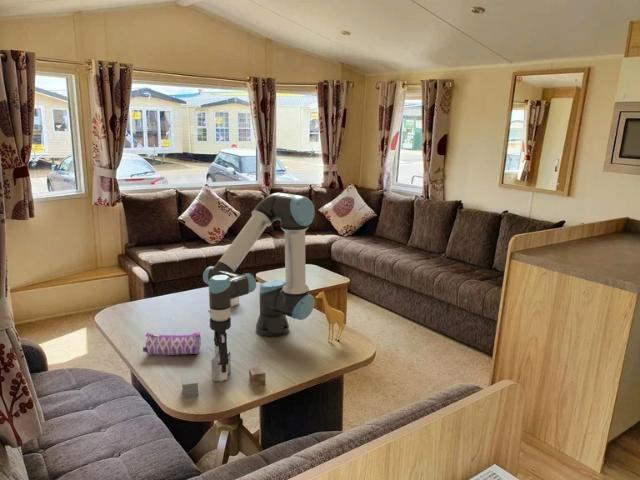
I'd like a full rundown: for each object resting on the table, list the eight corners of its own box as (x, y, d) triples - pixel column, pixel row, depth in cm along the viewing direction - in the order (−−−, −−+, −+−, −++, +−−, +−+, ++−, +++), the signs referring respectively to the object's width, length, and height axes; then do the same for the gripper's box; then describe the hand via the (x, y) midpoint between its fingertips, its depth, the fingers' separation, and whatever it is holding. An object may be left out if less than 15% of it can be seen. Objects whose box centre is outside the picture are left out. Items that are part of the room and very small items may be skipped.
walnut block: (262, 378, 179) (262, 366, 177) (265, 385, 174) (265, 372, 173) (249, 380, 177) (249, 368, 176) (251, 387, 172) (251, 374, 171)
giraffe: (317, 349, 202) (318, 294, 196) (311, 345, 206) (312, 290, 199) (347, 340, 211) (349, 287, 205) (341, 336, 215) (343, 284, 209)
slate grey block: (196, 388, 171) (196, 375, 170) (198, 395, 166) (197, 382, 165) (182, 390, 169) (182, 377, 168) (183, 397, 165) (182, 384, 163)
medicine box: (222, 382, 175) (222, 361, 173) (211, 380, 176) (210, 359, 173) (231, 371, 182) (230, 351, 180) (220, 370, 183) (219, 349, 181)
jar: (239, 306, 245) (239, 284, 242) (223, 307, 243) (223, 285, 240) (238, 299, 254) (238, 278, 251) (223, 300, 252) (222, 279, 249)
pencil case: (143, 359, 190) (141, 337, 187) (149, 348, 199) (147, 327, 196) (199, 358, 192) (198, 336, 189) (202, 347, 201) (202, 326, 198)
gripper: (205, 305, 183) (207, 355, 188) (214, 332, 160) (215, 389, 165) (225, 304, 186) (226, 353, 191) (236, 330, 163) (236, 385, 168)
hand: (221, 370), depth 178 cm, fingers open, 13 cm apart
